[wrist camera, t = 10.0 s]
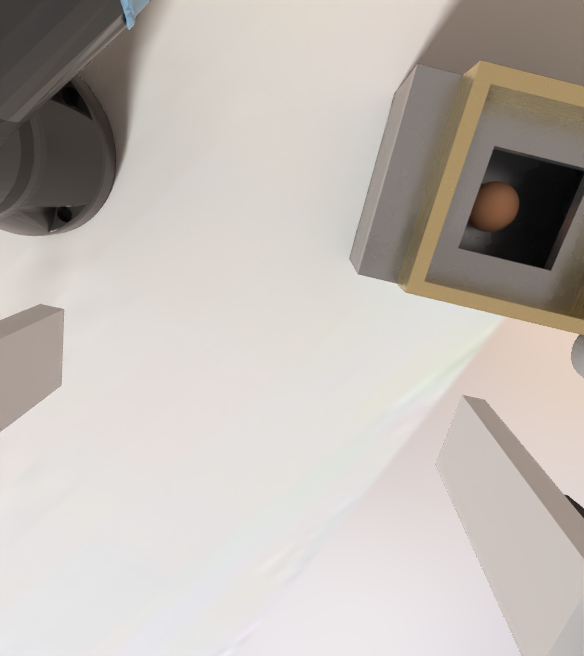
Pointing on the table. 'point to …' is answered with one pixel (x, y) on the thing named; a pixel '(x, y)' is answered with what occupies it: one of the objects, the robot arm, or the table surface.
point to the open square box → (462, 188)
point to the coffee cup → (578, 355)
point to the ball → (494, 206)
